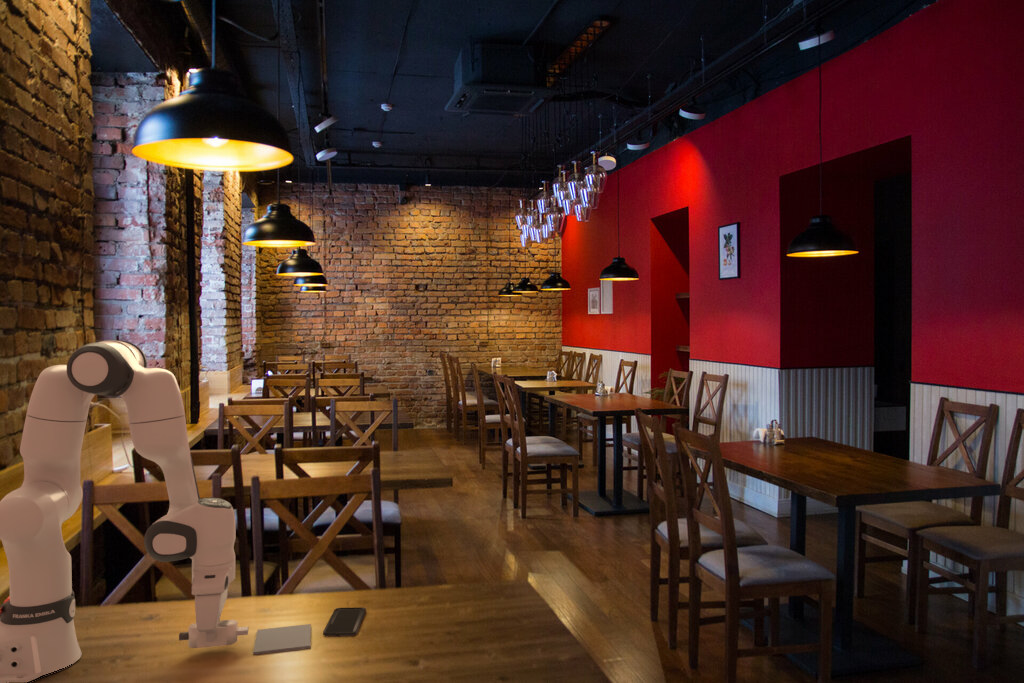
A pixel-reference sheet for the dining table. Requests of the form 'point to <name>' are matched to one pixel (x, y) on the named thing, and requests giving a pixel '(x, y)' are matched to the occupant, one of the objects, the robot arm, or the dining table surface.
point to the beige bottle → (224, 634)
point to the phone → (344, 622)
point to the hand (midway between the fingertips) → (213, 635)
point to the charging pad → (282, 639)
